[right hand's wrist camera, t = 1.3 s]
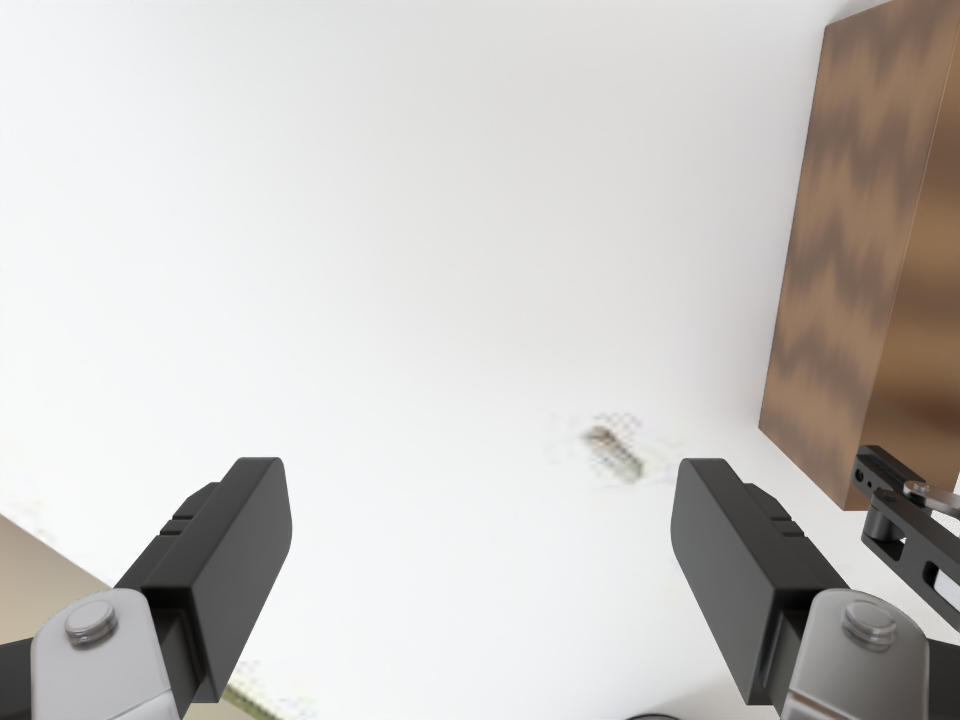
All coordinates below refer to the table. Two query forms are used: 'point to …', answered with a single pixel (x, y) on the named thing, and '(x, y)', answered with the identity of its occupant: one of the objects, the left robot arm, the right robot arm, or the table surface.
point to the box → (875, 257)
